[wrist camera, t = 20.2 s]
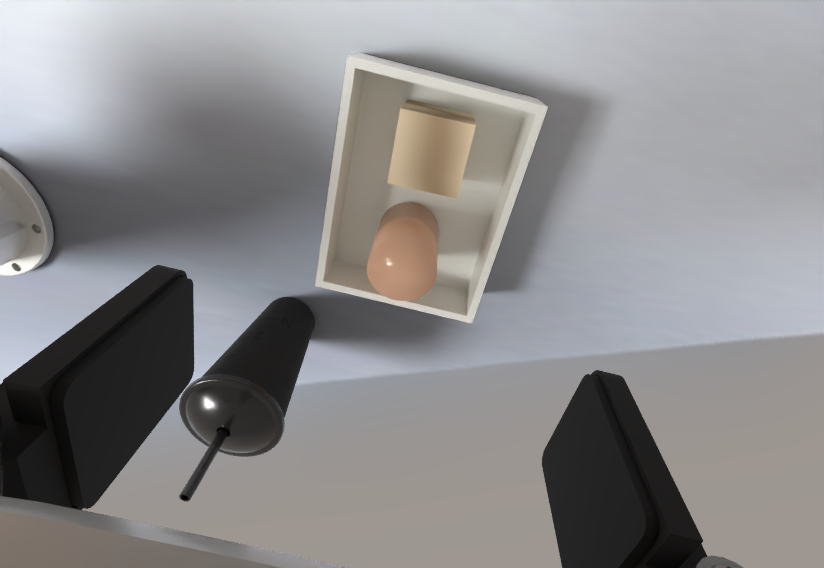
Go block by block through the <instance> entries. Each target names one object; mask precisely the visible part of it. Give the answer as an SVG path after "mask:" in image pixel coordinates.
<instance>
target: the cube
mask: <svg viewBox="0 0 824 568" xmlns="http://www.w3.org/2000/svg"><path fill="white" fill-rule="evenodd" d="M475 128H476V122H475V118H474V114H471V113H467V112H463V111H458V110H454V109H449V108H445V107H440V106H436V105H432V104H427V103H423V102H418V101H414V100H409V99H407V101H406V102H405V103H404V104H403V106H402V107H401V108H400V113H399V118H398V124H397V130H396V135H395V141H394V147H393V152H392V158H391V164H390V169H389V175H388V181H387V183H389V184H393V185H398V186H402V187H407V188H411V189H416V190H420V191H425V192H429V193H434V194H438V195H443V196H447V197H452V198H456V199H457V198H458V194H459V190H460V186H461V182H462V178H463V174H464V171H465V167H466V163H467V159H468V155H469V151H470V147H471V143H472V139H473V136H474V132H475Z"/></svg>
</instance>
